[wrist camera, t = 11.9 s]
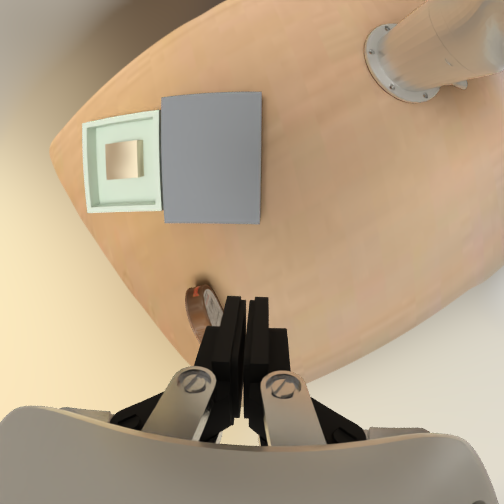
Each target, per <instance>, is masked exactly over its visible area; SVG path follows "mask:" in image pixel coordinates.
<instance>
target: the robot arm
mask: <svg viewBox="0 0 504 504" xmlns="http://www.w3.org/2000/svg"><path fill="white" fill-rule="evenodd" d="M370 53H371V54H370ZM364 55H365V60H366V63H367V66H368V68H369V71H370V72H371V74H372V76H373V78H374V79H375V80H376V81H377V83H378V84H379V85H380V86H381V87H382V88H383V89H384V90H385V91H386V92H388V93H389V94H390V95H392V96H393V97H395V98H397V99H399V100H402V101H405V102H409V103H421V102H425V101H428V100H430V99H432V98H433V97H434V96H435V95H436V94H437V93H438V91H439V89H440V87H441V86H443V85H450V84H451V85H453V86H455V87H458V88H460V89H463V90H465V89H466V88H467V80H469V79H473V78H478V77H483V76H488V75H493V74H497V73H499V72H501V71H503V70H504V0H428V1H426V2H425V3H424V4H422V5H421V6H420V7H418V8H417V9H416V10H415V11H413V12H412V13H411V14H410V15H408V16H407V17H406V18H405V19H403V20H402V21H401V22H400V23H398V24H384V25H381V26H378V27H377V28H375V29H374V30H373V31H372V32H371V33H370V34H369V35H368V37H367V39H366V42H365V47H364ZM389 87H390V88H391V89H390V88H389ZM423 96H424V97H423ZM243 388H244V418H249V427H250V428H251V429H252V430H254V431H255V432H256V433H257V434H258V441H259V446H242V445H228V444H219V443H220V440H221V437H222V431H223V430H224V429H226V428H228V427H229V426H231V425H233V424H234V418H239V417H240V409H241V400H242V390H243ZM0 504H498V500H497V497H496V494H495V491H494V488H493V486H492V483H491V481H490V478H489V476H488V474H487V471H486V469H485V467H484V465H483V463H482V461H481V459H480V458H479V456H478V454H477V453H476V451H475V450H474V448H473V447H472V446H471V445H470V444H469V443H468V442H467V441H465V440H464V439H462V438H460V437H458V436H454V435H449V434H439V433H430V432H429V431H427V430H425V429H423V428H378V427H370V428H369V430H363V429H362V428H361V427H359V426H358V425H357V424H355V423H353V422H352V421H350V420H348V419H346V418H345V417H343V416H341V415H339V414H338V413H336V412H334V411H333V410H331V409H329V408H328V407H326V406H325V405H323V404H321V403H320V402H318V401H316V400H315V399H313V398H311V397H310V395H309V392H308V389H307V386H306V383H305V381H304V380H303V378H302V377H300V376H299V375H298V374H296V373H294V372H291V371H290V359H289V348H288V337H287V329H286V328H269V308H268V297H255V300H250V304H249V313H248V323H247V332H246V300H241V296H227V300H226V304H225V308H224V312H223V316H222V320H221V324H220V326H206V329H205V332H204V335H203V338H202V341H201V345H200V348H199V351H198V354H197V358H196V361H195V364H194V366H191V367H186V368H183V369H181V370H180V371H178V372H177V373H176V374H175V375H174V376H173V378H172V380H171V381H170V383H169V385H168V387H167V388H166V390H165V391H164V392H162V393H160V394H158V395H155V396H153V397H151V398H149V399H146V400H144V401H142V402H140V403H137V404H135V405H132V406H130V407H128V408H125V409H123V410H121V411H119V412H117V413H116V414H115V415H114V414H111V413H110V411H97V410H86V409H77V408H69V407H64V408H60V409H57V408H52V407H45V406H24V407H19V408H16V409H14V410H13V411H11V412H10V413H9V414H8V415H7V416H6V417H5V418H4V419H3V420H2V421H1V422H0Z"/></svg>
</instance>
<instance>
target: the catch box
mask: <svg viewBox="0 0 504 504" xmlns="http://www.w3.org/2000/svg"><path fill="white" fill-rule="evenodd" d="M133 140H143V162H144V176H142V177H139V178H126V179H113V180H107V178H106V157H105V144H110V143H117V142H125V141H133ZM82 143H83V169H84V183H85V194H86V204H87V213H102V212H131V211H162V210H164V204H163V186H162V158H161V110H154V111H147V112H140V113H133V114H127V115H121V116H116V117H110V118H105V119H100V120H96V121H91V122H87V123H82Z"/></svg>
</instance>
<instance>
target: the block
mask: <svg viewBox="0 0 504 504" xmlns="http://www.w3.org/2000/svg"><path fill="white" fill-rule="evenodd" d="M105 157H106V178H107V180H113V179H126V178H139V177H142V176H144V162H143V140H133V141H125V142H117V143H110V144H105Z"/></svg>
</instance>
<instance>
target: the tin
mask: <svg viewBox="0 0 504 504" xmlns="http://www.w3.org/2000/svg"><path fill="white" fill-rule="evenodd" d="M185 304H186V311H187V316H188V319H189V322H190V325H191V328H192V330H193V332H194V334H195V336H196V338H197V339H198V341H199V343H200V345H201V341H202V338H203V335H204V332H205V329H206V326H220V324H221V320H222V316H223V310H222V307H221V305H220V303H219V301H218V299H217V297H216V295H215V293H214V291H213V290H212V288H211V287H210V286H208V285H201V286H197V287H194V288H189V289H188V290H187V292H186V296H185Z"/></svg>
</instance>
